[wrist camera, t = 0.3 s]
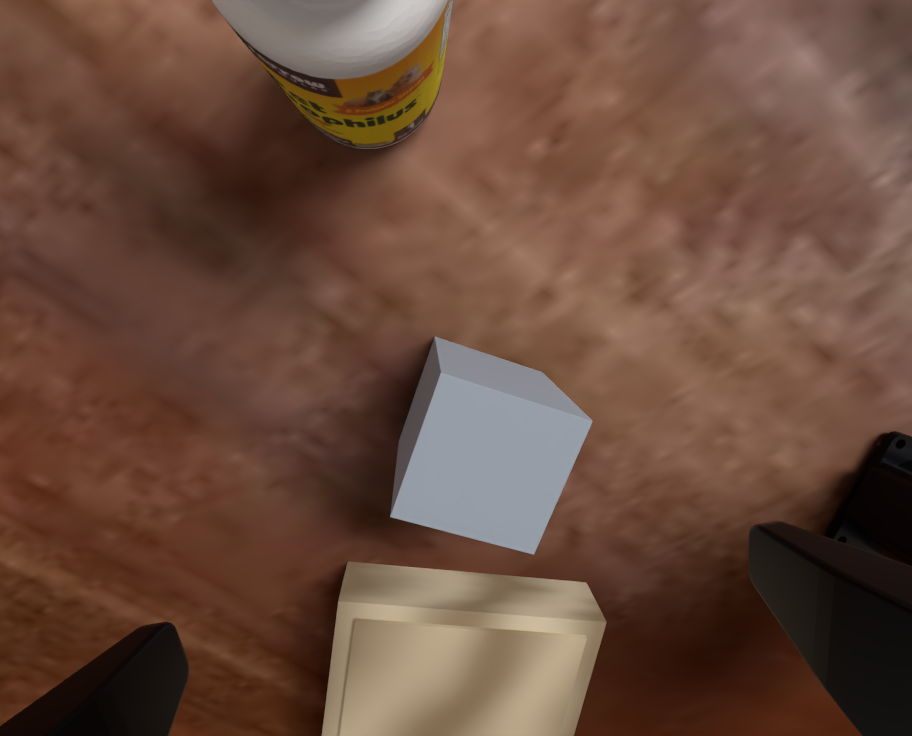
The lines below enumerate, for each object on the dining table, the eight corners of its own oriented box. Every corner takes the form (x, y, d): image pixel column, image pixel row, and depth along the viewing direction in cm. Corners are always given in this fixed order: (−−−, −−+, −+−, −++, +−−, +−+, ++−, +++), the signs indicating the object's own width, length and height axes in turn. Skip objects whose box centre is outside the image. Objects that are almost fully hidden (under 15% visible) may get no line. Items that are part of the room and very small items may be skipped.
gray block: (541, 371, 20) (592, 420, 14) (501, 470, 21) (533, 554, 15) (434, 336, 19) (441, 372, 13) (398, 440, 20) (390, 516, 14)
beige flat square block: (583, 576, 23) (608, 625, 20) (535, 752, 26) (551, 819, 23) (349, 554, 22) (337, 603, 19) (325, 743, 24) (312, 812, 21)
